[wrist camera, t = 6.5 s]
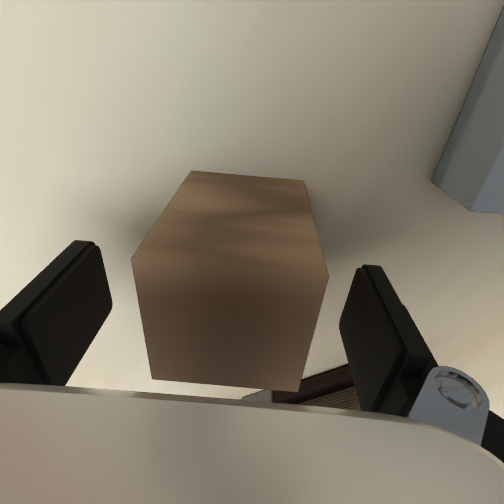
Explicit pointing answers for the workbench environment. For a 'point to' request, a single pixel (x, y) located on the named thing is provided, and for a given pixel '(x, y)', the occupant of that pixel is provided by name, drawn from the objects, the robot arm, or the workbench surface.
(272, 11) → the workbench surface
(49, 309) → the robot arm
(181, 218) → the walnut block
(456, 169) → the tray
